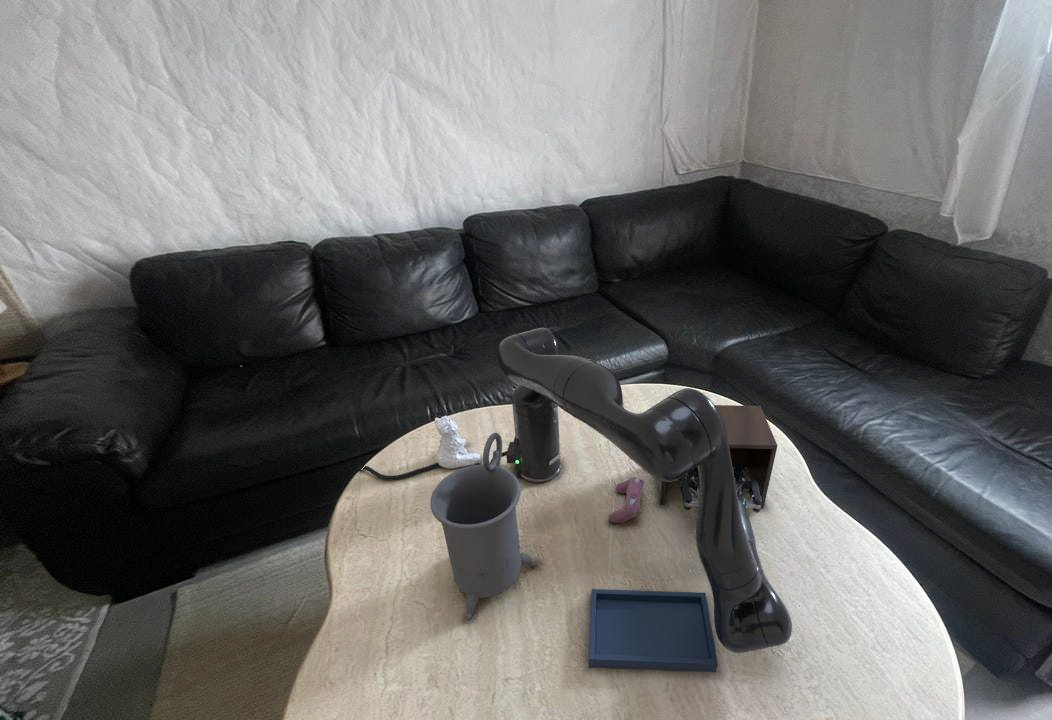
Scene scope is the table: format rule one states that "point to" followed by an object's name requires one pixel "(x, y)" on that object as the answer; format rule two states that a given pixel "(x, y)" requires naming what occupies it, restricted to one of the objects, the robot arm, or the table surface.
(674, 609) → the tray
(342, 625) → the table surface
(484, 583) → the grey footed pot
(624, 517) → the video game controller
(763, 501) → the cabinet
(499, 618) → the table surface
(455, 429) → the white creature statuette
